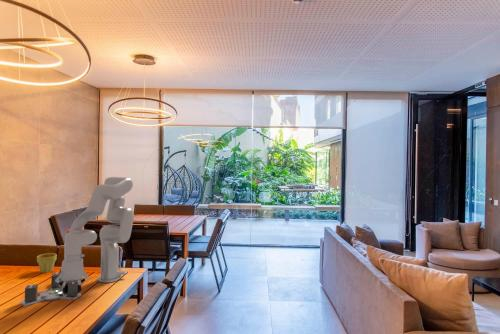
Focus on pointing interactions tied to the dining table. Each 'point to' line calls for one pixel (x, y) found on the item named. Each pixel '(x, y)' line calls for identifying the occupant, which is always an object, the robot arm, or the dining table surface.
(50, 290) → the tribrach base
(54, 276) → the knob
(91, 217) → the robot arm
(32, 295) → the knob
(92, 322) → the dining table surface
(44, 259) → the plant pot
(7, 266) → the dining table surface
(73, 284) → the knob
